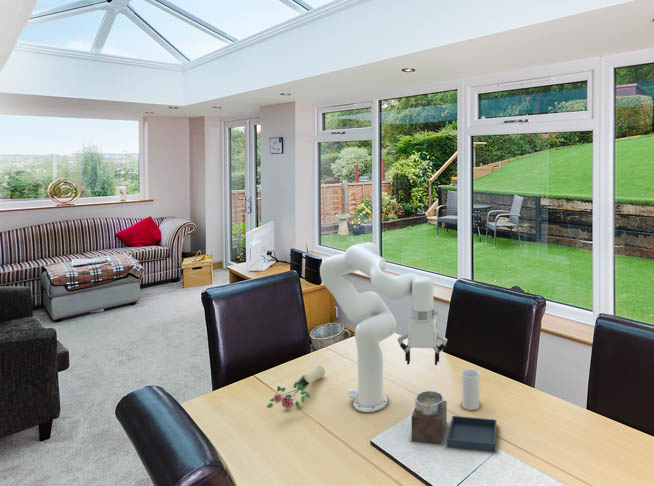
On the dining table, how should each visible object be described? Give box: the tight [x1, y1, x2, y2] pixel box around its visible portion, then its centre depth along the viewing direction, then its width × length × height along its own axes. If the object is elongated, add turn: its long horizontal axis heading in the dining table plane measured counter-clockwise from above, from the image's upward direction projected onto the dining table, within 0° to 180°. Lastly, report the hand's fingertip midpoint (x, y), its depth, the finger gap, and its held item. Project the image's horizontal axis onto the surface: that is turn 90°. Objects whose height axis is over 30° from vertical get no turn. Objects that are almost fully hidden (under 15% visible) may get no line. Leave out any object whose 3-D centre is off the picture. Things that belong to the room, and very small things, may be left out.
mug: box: [461, 368, 480, 411], centre depth 161 cm, size 10×7×12 cm, turn 159°
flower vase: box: [266, 365, 326, 411], centre depth 164 cm, size 12×12×35 cm
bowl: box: [414, 390, 445, 416], centre depth 144 cm, size 9×9×4 cm
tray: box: [446, 415, 498, 453], centre depth 141 cm, size 15×13×2 cm
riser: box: [411, 400, 448, 445], centre depth 143 cm, size 10×11×8 cm
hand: (422, 363), depth 148 cm, fingers open, 9 cm apart
